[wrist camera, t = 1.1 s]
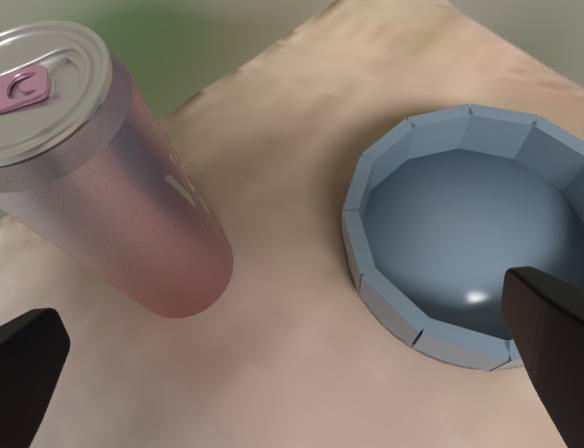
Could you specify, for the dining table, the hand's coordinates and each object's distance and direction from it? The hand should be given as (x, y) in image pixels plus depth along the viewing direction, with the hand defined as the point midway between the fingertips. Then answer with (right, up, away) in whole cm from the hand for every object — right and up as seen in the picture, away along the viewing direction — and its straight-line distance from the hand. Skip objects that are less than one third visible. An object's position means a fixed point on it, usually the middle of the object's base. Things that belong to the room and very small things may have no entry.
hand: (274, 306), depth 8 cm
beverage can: (-6, -1, +17) cm, 18 cm away
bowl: (+10, 0, +16) cm, 19 cm away
